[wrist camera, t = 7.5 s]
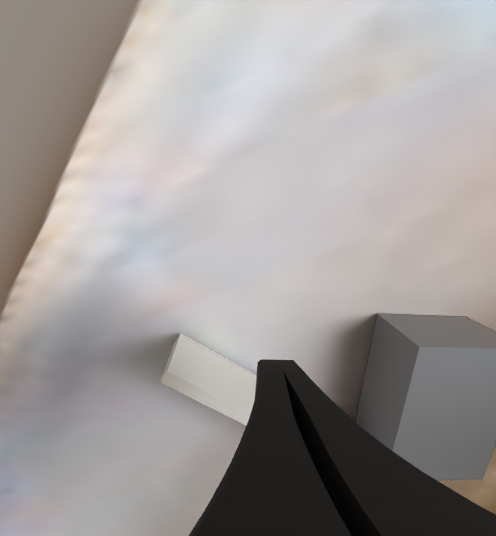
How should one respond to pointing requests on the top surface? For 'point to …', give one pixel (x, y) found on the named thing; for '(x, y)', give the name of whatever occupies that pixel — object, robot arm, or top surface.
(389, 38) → the top surface
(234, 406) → the door
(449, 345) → the block
